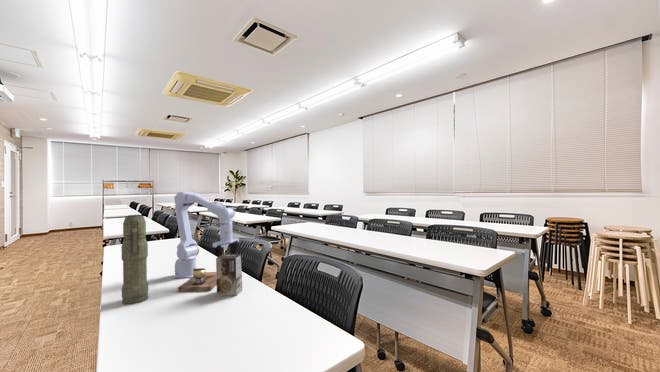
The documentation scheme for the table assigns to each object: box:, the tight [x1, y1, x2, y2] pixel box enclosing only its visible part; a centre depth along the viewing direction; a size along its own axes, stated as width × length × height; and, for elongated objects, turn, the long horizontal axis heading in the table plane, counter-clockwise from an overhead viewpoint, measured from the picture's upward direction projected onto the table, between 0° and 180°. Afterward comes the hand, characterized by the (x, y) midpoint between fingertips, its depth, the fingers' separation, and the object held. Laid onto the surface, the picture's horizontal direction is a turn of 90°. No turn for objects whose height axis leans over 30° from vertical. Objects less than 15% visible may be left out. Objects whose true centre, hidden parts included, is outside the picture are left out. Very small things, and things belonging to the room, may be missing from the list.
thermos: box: [120, 214, 149, 306], centre depth 112 cm, size 9×12×35 cm
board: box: [177, 271, 217, 293], centre depth 132 cm, size 14×21×2 cm, turn 1°
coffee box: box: [215, 254, 243, 297], centre depth 119 cm, size 9×6×16 cm
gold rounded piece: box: [193, 267, 206, 285], centre depth 126 cm, size 5×5×9 cm
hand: (226, 258), depth 137 cm, fingers open, 7 cm apart
